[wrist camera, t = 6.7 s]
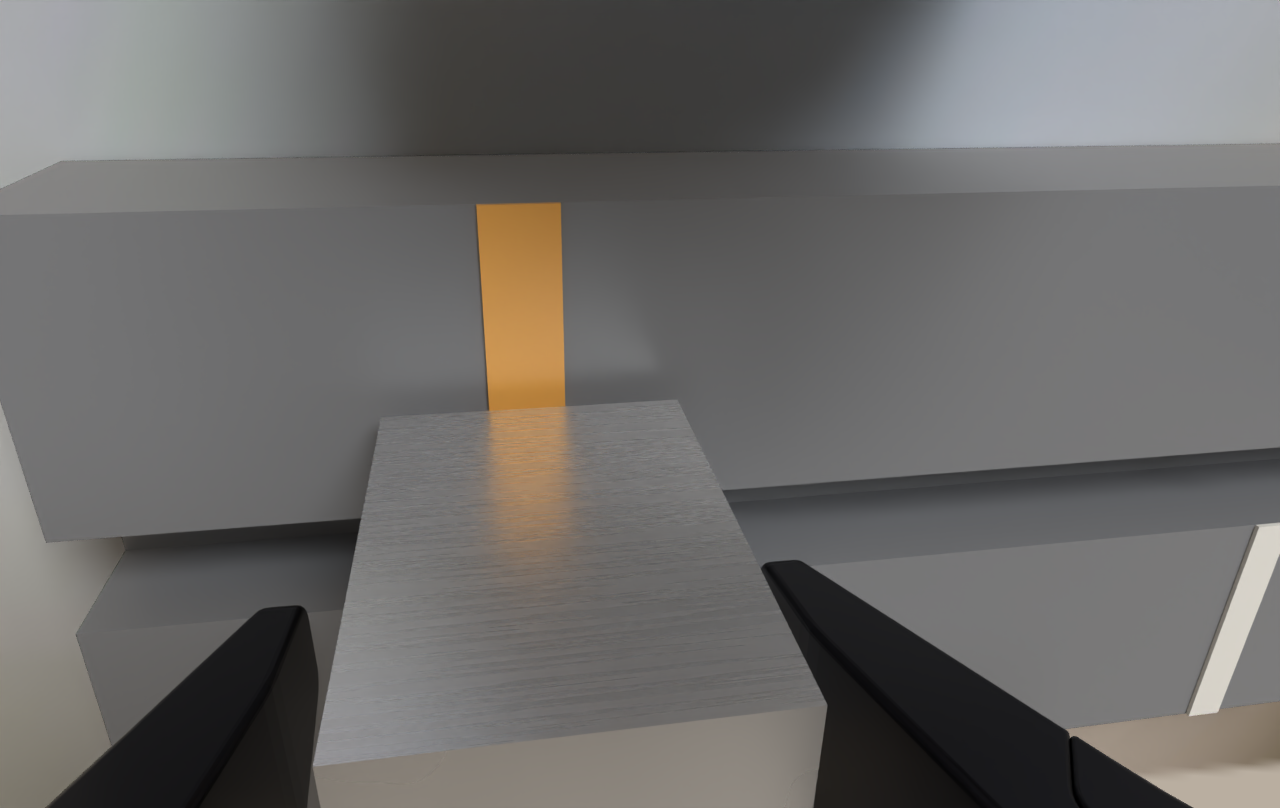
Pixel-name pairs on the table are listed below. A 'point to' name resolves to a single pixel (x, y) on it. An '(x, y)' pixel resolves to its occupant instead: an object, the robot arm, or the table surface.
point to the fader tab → (560, 625)
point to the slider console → (685, 383)
